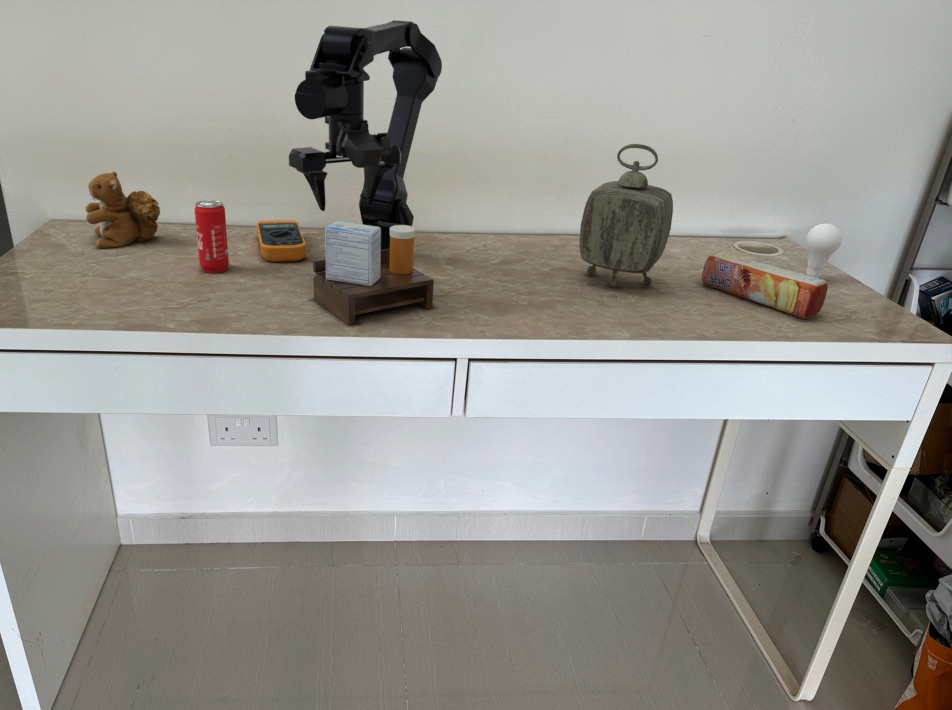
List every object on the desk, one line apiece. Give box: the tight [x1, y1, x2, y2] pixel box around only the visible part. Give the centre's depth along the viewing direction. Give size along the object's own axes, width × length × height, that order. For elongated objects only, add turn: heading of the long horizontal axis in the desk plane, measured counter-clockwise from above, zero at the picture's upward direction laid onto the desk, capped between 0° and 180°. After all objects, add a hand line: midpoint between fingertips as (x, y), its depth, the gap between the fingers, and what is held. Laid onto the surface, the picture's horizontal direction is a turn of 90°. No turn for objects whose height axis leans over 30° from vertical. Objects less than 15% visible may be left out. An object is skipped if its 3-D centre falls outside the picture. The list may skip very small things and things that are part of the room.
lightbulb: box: [805, 222, 843, 279], centre depth 148 cm, size 6×6×11 cm
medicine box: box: [324, 220, 381, 286], centre depth 122 cm, size 8×4×9 cm, turn 71°
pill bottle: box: [389, 225, 416, 274], centre depth 128 cm, size 4×4×7 cm
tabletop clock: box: [579, 143, 674, 289], centre depth 137 cm, size 14×9×25 cm, turn 62°
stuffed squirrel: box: [85, 171, 161, 249], centre depth 150 cm, size 10×14×13 cm
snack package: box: [701, 251, 829, 320], centre depth 137 cm, size 21×7×7 cm, turn 36°
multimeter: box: [255, 219, 307, 263], centre depth 152 cm, size 9×18×3 cm, turn 13°
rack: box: [312, 248, 435, 326], centre depth 127 cm, size 16×12×7 cm
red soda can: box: [194, 199, 230, 274], centre depth 138 cm, size 5×5×12 cm
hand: (346, 207), depth 133 cm, fingers open, 9 cm apart
